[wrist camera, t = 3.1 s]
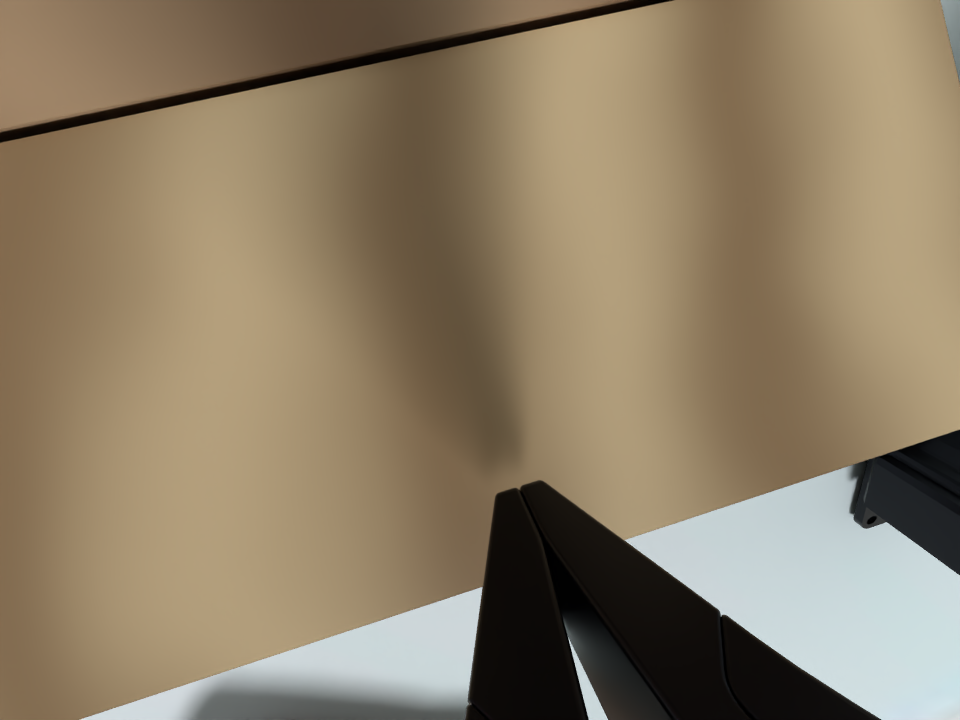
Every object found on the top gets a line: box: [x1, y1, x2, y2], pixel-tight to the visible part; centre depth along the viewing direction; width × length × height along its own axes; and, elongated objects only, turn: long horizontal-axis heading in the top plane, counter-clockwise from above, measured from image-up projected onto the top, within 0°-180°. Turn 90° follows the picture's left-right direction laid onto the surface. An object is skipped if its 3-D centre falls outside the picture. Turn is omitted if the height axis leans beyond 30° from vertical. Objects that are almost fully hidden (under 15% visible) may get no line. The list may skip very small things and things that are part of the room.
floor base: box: [0, 0, 674, 143], centre depth 9 cm, size 22×20×2 cm
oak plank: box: [0, 0, 960, 720], centre depth 9 cm, size 22×10×2 cm, turn 102°
